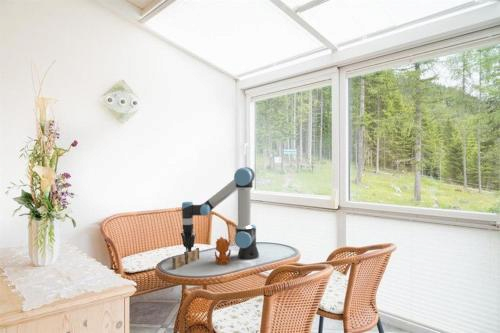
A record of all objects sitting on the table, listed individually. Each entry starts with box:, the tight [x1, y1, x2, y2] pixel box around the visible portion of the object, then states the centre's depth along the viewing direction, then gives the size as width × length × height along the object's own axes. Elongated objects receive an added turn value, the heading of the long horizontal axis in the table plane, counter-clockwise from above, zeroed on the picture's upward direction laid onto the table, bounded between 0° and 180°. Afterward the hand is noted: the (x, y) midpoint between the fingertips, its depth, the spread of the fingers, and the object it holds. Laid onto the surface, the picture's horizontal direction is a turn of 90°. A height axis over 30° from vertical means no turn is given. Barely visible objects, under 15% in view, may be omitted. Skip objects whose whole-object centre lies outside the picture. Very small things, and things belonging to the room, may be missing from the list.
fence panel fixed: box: [171, 251, 188, 270], centre depth 227 cm, size 13×2×8 cm, turn 151°
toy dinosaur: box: [214, 236, 232, 266], centre depth 233 cm, size 11×11×18 cm
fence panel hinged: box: [187, 247, 200, 264], centre depth 238 cm, size 12×2×8 cm, turn 151°
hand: (188, 257), depth 243 cm, fingers closed
